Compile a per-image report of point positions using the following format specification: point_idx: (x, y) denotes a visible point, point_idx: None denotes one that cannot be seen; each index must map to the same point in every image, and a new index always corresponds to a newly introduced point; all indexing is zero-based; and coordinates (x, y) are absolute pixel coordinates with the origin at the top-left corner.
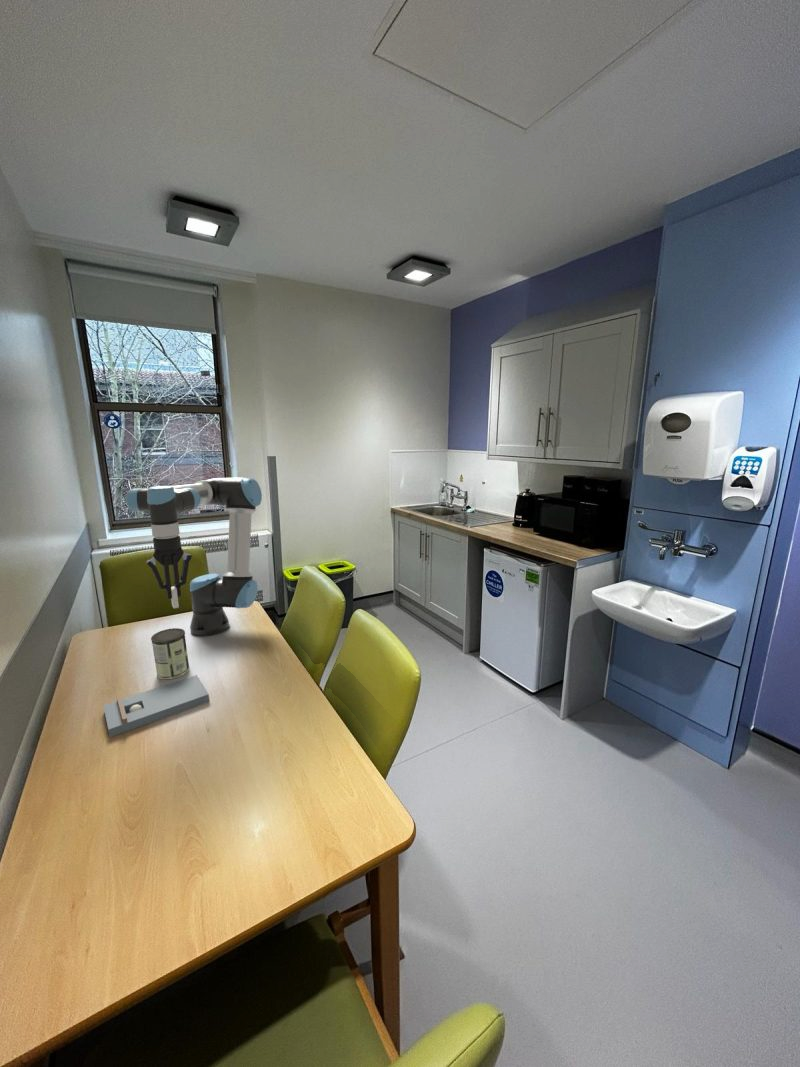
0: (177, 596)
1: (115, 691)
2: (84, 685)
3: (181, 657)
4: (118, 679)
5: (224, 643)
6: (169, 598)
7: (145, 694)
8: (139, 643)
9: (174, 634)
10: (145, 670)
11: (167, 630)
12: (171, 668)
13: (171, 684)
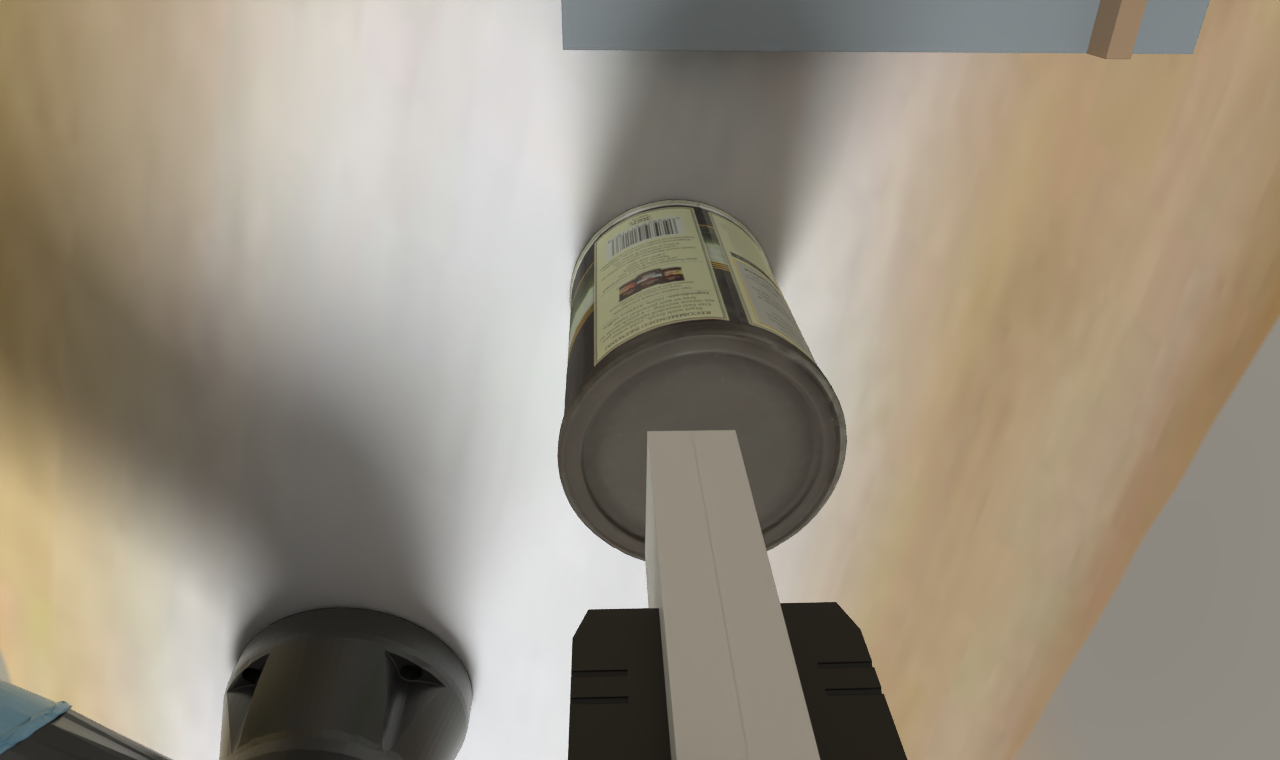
0: (663, 594)
1: (1015, 271)
2: (1102, 442)
3: (629, 264)
4: (953, 401)
5: (296, 467)
6: (823, 608)
7: (946, 2)
8: None
9: None
10: None
11: None
12: (708, 230)
13: (758, 25)
